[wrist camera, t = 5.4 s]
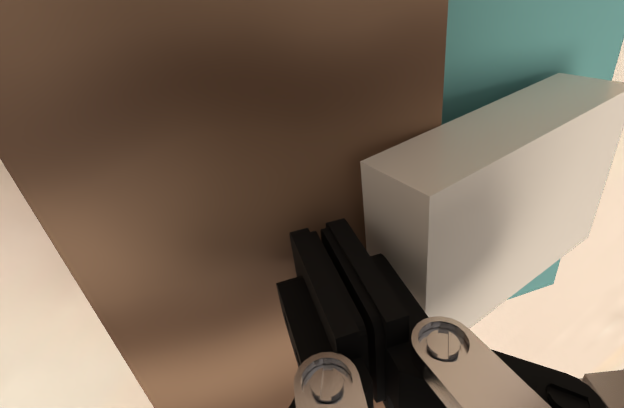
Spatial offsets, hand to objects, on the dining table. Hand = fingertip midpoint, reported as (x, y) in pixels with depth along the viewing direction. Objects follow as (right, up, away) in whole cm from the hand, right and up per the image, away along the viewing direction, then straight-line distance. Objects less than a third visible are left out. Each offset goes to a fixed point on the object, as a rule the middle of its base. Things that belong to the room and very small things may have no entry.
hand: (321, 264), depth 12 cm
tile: (+5, +2, +2) cm, 6 cm away
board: (-2, +1, +3) cm, 4 cm away
